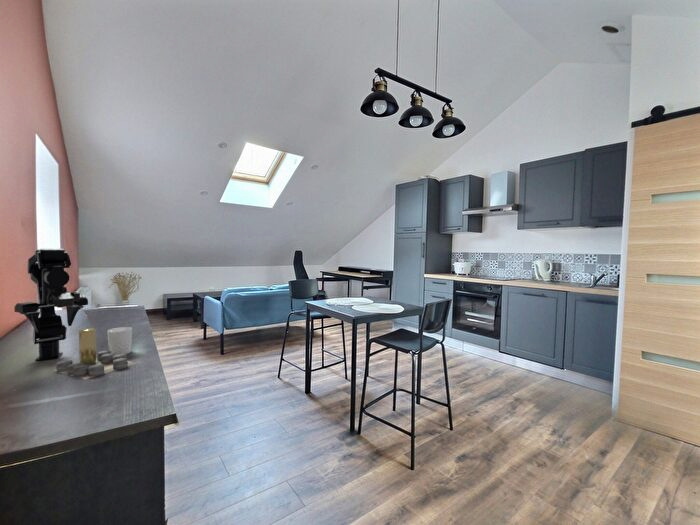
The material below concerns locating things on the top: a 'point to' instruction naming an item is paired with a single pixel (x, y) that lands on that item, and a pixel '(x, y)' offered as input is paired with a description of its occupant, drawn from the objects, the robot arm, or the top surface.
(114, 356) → the spacer board
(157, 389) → the top surface
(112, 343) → the white cup
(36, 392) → the top surface
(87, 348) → the brass post
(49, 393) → the top surface
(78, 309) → the robot arm
